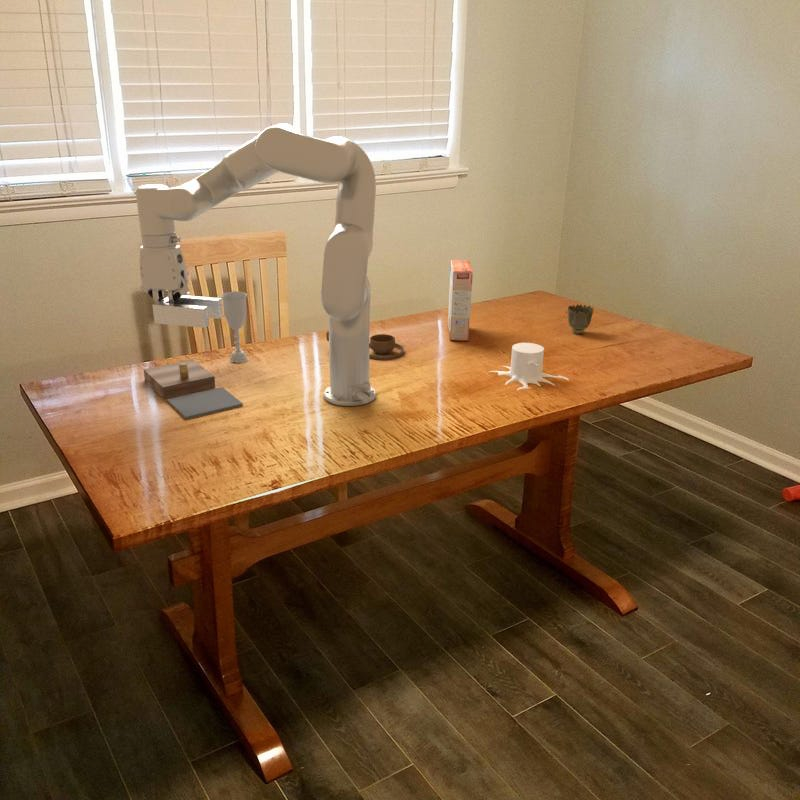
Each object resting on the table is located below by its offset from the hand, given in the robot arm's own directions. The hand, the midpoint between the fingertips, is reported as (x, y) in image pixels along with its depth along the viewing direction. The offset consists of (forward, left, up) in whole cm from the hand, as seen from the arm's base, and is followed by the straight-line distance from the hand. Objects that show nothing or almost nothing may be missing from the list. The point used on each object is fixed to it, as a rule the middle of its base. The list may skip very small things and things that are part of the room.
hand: (168, 317), depth 189 cm
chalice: (+10, -21, -19) cm, 30 cm away
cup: (-24, -116, -19) cm, 120 cm away
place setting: (-2, -56, -19) cm, 59 cm away
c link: (-4, -3, 0) cm, 5 cm away
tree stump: (-41, -79, -19) cm, 91 cm away
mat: (-13, -2, -18) cm, 22 cm away
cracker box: (-5, -85, -19) cm, 87 cm away
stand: (+2, -2, -18) cm, 19 cm away
